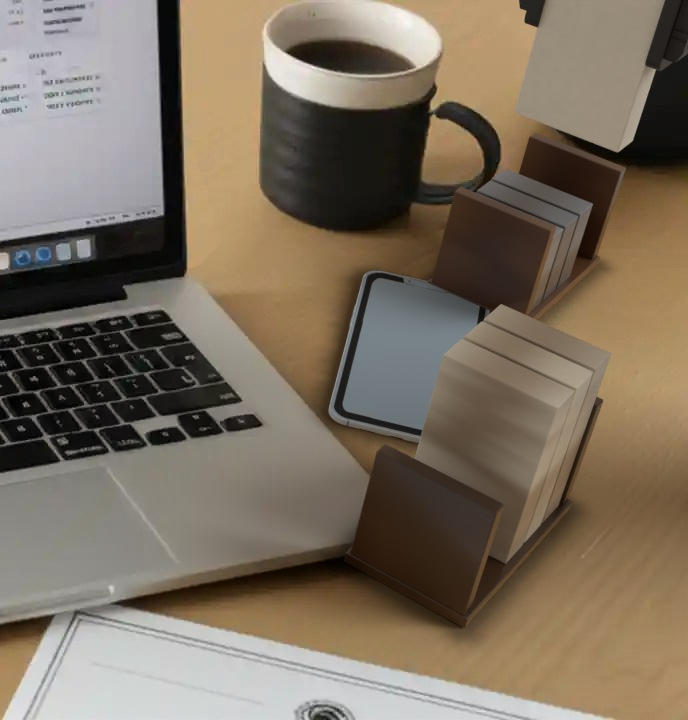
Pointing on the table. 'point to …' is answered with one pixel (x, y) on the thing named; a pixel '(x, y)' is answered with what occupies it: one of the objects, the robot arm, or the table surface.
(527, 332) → the brown book rack
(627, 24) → the beige rectangular block
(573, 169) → the brown coaster holder
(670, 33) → the robot arm
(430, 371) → the smartphone
